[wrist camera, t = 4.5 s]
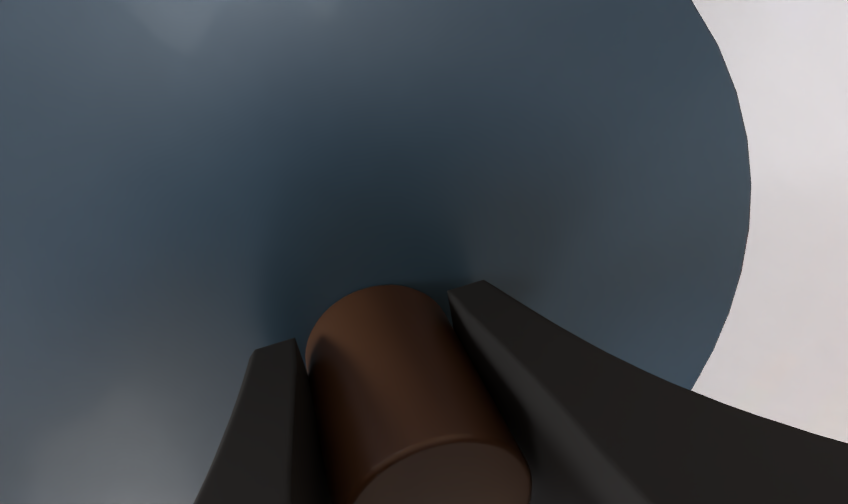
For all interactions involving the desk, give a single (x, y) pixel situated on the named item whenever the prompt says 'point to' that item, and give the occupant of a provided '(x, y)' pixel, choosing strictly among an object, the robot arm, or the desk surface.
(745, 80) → the desk surface
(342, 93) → the lid
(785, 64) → the desk surface
